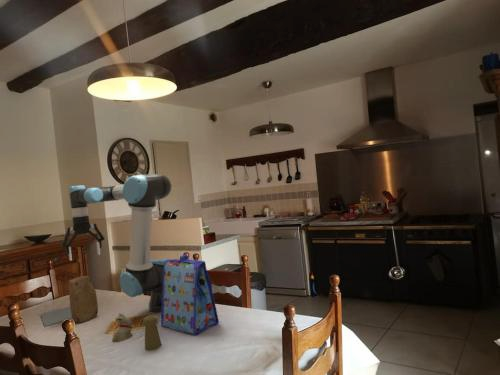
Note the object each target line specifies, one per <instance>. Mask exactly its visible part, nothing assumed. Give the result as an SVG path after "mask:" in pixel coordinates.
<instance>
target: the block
mask: <svg viewBox="0 0 500 375" xmlns="http://www.w3.org/2000/svg"><path fill="white" fill-rule="evenodd" d="M68 294H69V302H70V308H71V315H72V318H73V319H72V321H73V322H74V321H75V323H77V324H79V323H86V322H88V321H90V320H93V319H95V318H96V317H97V316H98V314H99V305H98V296H97V292H96V289H95V288H94V286H93V284H92V283H91V282H90V277H89V275H81V276H78V277H74V278H72V279H70V280H69V281H68Z"/></svg>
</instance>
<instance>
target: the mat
mask: <svg viewBox="0 0 500 375" xmlns="http://www.w3.org/2000/svg"><path fill="white" fill-rule="evenodd" d="M40 314H41V315H40V318H41V317H42V318H41V320H42V323H43V325H44V327H45V328H47V327H50V326H55V325H56V324H60V323H64V322H63V321H64V320H66V319H72V320H73V318H72V315H71V308H70V306H66V307H63V308H58V309H55V310H49V311H47V312H46V311H45V312H42V313H40Z"/></svg>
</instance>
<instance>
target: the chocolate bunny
mask: <svg viewBox="0 0 500 375" xmlns="http://www.w3.org/2000/svg"><path fill="white" fill-rule="evenodd" d="M115 321H116V322H118V324H119V326H118V327H117V328H116V329H115V330H114V332H113V336H112V339H111V341H112V343H114V342H115V343H116V342H120V341H121V342H122V341H124V340H127V339H129V338H130V337H131V336H132V335H133V334H132V329H133V326H132V325H133V321H132V318H131V317H128V316H125V315H124V314H123V313H121V312H118V315H117V316H116V318H115Z"/></svg>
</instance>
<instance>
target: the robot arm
mask: <svg viewBox="0 0 500 375" xmlns="http://www.w3.org/2000/svg"><path fill="white" fill-rule="evenodd" d="M171 191H172V183H171V180H170V179H169V178H168V176H166V175H164V174H162V173H153V174H151V173H150V174H137V175H136V174H135V175H132V176H131V175H130V177H128V178H126V180H125V181H124V184H118V185H111V186H101V187H99V186H98V187H87V188H86V186H85V185H84V184H83V185H72V186H70V187H69V200H70V207H71V208H70V209H71V217H72V226H71V227H70V226H68V227H66V232H65V235H64V236H63V237H64V238H63V240H62V242H61V245H60V246H61V247H62V248H64V249H65V253H66V255H68V258H69V260H68V261H73V258H72V257H73V256H72V247H71V244H72V243H73V242H74V241H75V239H76V237H77V236H78V235H80V236H81V235H84V234H89V236H91V237H93V239H95V240H96V252H97V255H98V256H99V255H100V256H101V249H102V241H104V240H105V237H104V236H103V234H102V232H101V231H100V229H99V228H98V225H97V224H96V223H90V217H89V209H88V204H97V203H104V202H112V201H120V200H125V202H127V206H128V207H129V208H130V209H131V217H130V218H131V219H130V220H131V221H130V239H129V240H130V242H129V247H130V248H129V261H128V262H127V263H126V264H125V271H123V272H122V273H121V274H120V275H119V286H120V288H121V290H122V292H123V293H124V294H125V295H126V296H127V297H130V298H134V297H139V296H142V295H143V294H145V293H148V292H150V298H149V303H148V309H149V311H150V312H152V313H161V309H162V285H163V267H164V263H165V261H166V260H172V258H171V259H170V258H156V259H151V257H150V256H151V238H152V217H153V215H152V214H153V209H155V208H156V207H157V206H156V205H157V201H158V200H162V199H165V198H166V197H168V196H169V195H170V193H171ZM91 228H92V229H93V230H94V231H95V233H96V234H97V235H98V236H97V235H96V234H95V233H94V232H92V231H91V230H90V229H91ZM72 231H73V232H74V233H73V234H72V236H71V237H70V238H69V236H70V235H71V232H72Z"/></svg>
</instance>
